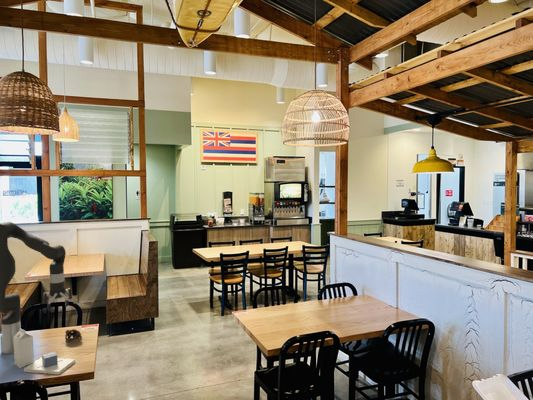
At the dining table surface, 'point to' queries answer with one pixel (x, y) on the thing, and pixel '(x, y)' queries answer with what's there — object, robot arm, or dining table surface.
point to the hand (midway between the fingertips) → (58, 308)
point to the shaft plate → (54, 369)
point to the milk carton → (23, 348)
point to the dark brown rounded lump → (72, 335)
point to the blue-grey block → (49, 359)
